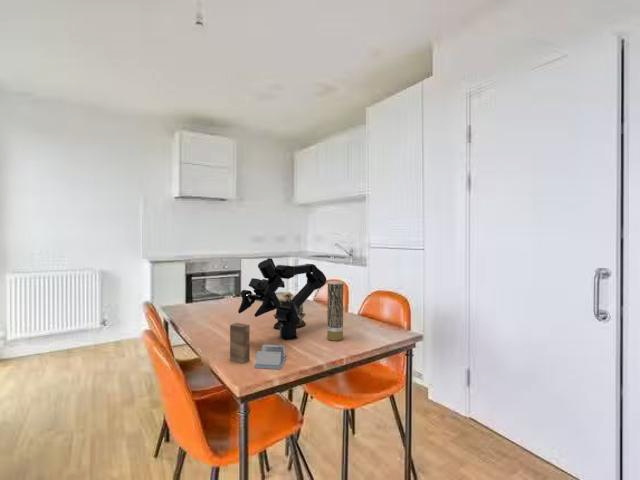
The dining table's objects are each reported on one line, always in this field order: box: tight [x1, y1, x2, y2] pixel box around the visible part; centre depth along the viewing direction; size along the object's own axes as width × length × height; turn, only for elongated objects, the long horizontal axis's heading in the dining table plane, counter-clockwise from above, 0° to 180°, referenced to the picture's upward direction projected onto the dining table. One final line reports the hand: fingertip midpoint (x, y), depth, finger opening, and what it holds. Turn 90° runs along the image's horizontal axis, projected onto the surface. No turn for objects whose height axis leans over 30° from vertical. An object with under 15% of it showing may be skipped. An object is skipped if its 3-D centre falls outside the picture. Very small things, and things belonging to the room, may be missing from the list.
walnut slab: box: [229, 322, 251, 364], centre depth 126 cm, size 4×6×13 cm, turn 62°
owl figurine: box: [272, 291, 306, 331], centre depth 172 cm, size 18×12×17 cm, turn 131°
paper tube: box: [326, 280, 344, 342], centre depth 152 cm, size 7×7×25 cm
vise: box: [254, 344, 287, 370], centre depth 126 cm, size 14×9×5 cm, turn 174°
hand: (246, 314), depth 134 cm, fingers open, 9 cm apart
